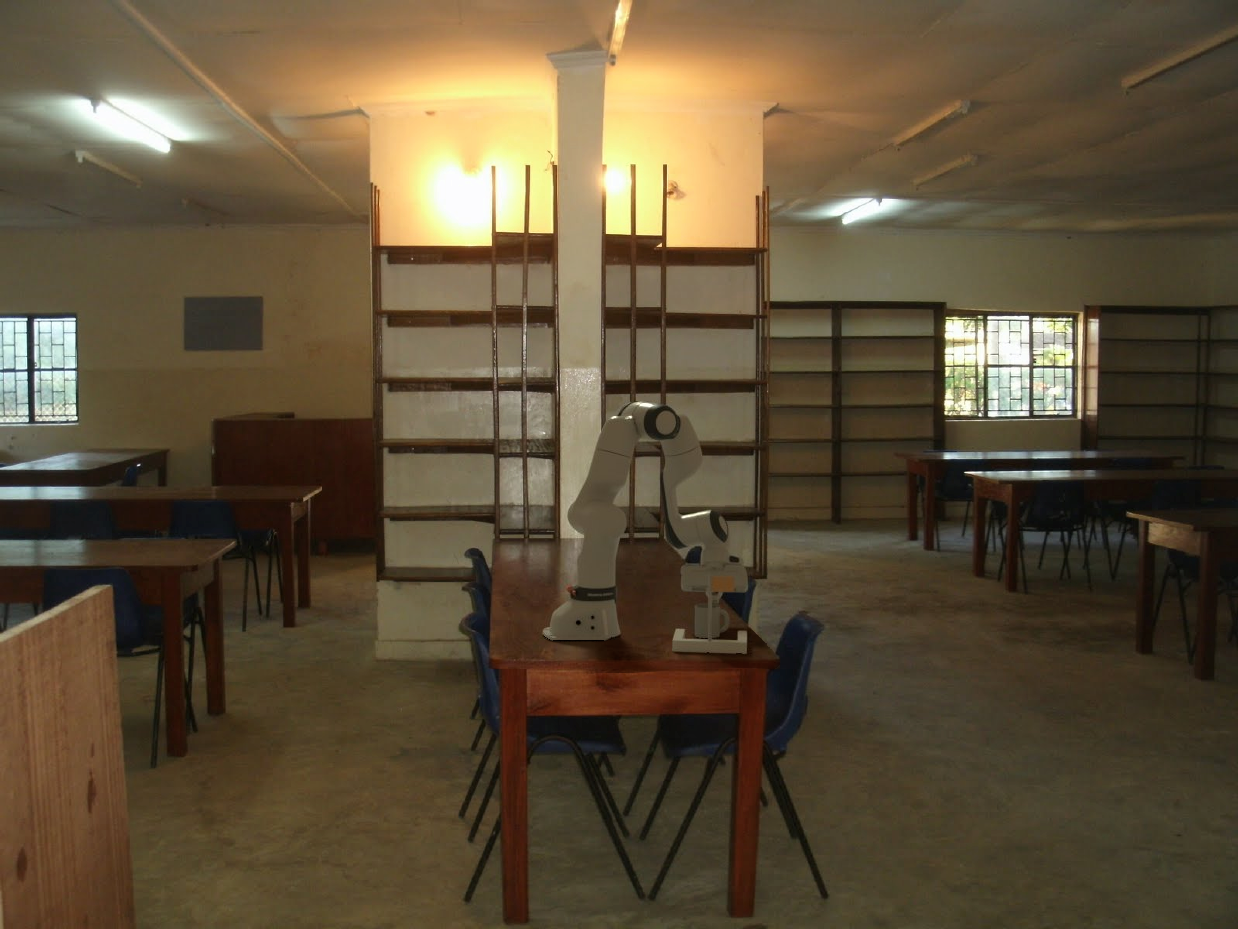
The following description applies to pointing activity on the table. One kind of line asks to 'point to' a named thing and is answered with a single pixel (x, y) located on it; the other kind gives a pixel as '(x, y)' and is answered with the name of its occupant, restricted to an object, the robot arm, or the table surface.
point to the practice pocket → (708, 644)
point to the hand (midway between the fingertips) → (713, 602)
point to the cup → (702, 620)
